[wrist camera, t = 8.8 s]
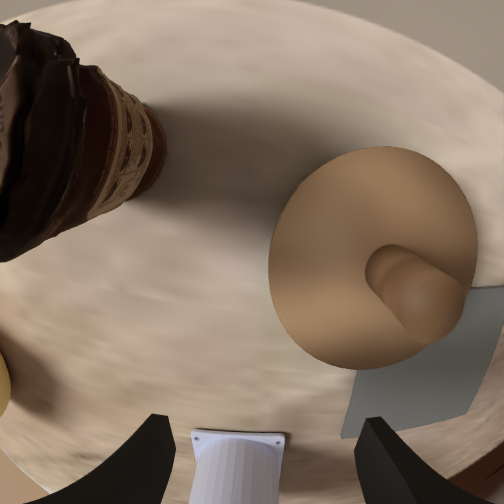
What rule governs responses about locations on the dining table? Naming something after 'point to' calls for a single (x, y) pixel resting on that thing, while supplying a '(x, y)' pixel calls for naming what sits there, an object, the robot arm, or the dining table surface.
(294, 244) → the lid
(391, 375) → the plate
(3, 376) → the sculpture
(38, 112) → the coffee cup
